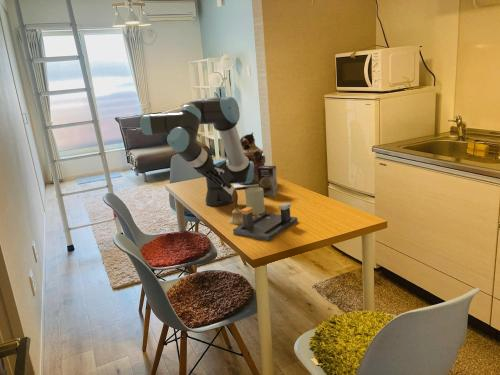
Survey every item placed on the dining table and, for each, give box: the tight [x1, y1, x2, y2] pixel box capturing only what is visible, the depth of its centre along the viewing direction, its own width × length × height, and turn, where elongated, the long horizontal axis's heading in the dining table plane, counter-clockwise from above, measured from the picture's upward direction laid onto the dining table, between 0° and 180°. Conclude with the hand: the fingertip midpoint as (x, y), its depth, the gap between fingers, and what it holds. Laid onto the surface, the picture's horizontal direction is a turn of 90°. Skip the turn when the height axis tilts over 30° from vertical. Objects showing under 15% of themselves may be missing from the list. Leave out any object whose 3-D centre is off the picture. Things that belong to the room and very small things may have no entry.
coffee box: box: [258, 165, 278, 197], centre depth 225 cm, size 9×6×16 cm
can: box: [244, 186, 266, 216], centre depth 199 cm, size 9×9×12 cm
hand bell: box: [228, 188, 243, 226], centre depth 186 cm, size 8×8×16 cm
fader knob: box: [240, 206, 254, 229], centre depth 175 cm, size 3×5×9 cm
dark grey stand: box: [232, 202, 298, 242], centre depth 177 cm, size 18×24×10 cm
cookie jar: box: [232, 131, 266, 189], centre depth 249 cm, size 25×25×32 cm
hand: (231, 190), depth 164 cm, fingers closed
